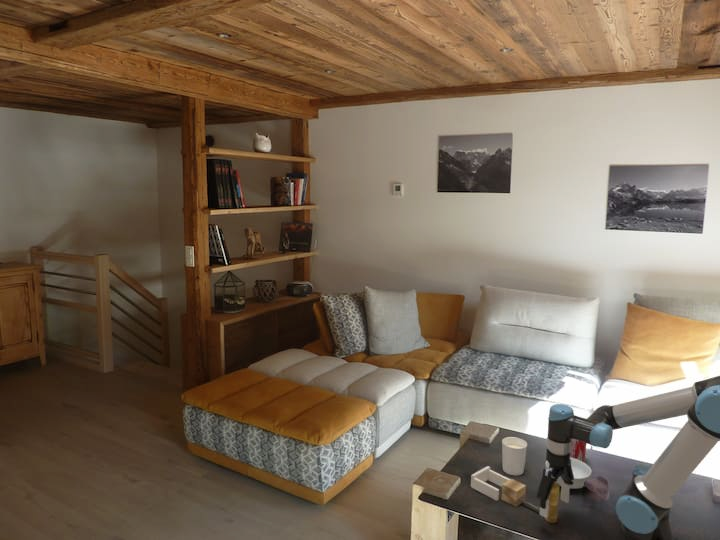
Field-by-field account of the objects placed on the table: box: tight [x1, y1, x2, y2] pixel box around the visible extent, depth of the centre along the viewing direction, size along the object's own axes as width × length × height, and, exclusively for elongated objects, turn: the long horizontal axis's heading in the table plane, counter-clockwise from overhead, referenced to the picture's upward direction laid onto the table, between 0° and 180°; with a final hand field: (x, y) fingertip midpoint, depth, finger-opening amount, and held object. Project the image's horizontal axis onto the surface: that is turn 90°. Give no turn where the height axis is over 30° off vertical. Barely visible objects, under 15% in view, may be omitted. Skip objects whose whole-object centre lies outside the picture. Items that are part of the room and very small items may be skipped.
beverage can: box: [570, 438, 587, 463], centre depth 225 cm, size 6×6×12 cm
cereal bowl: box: [544, 457, 593, 490], centre depth 209 cm, size 17×17×7 cm
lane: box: [470, 465, 511, 502], centre depth 204 cm, size 12×10×5 cm
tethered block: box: [501, 478, 561, 524], centre depth 192 cm, size 20×6×13 cm, turn 41°
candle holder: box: [501, 436, 528, 476], centre depth 218 cm, size 10×10×12 cm
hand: (554, 508), depth 185 cm, fingers open, 13 cm apart
